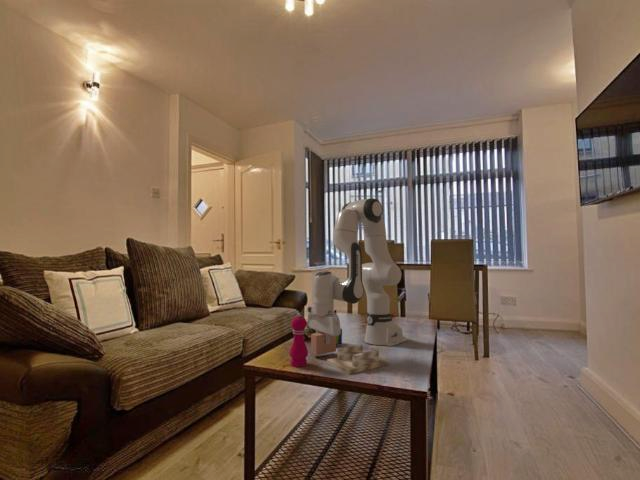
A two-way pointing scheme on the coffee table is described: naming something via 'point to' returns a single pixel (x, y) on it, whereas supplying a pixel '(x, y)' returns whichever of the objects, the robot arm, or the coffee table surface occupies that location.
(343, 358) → the bookend rack
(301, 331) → the pepper mill
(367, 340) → the robot arm
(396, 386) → the coffee table surface
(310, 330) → the robot toy
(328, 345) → the upright pink tile
